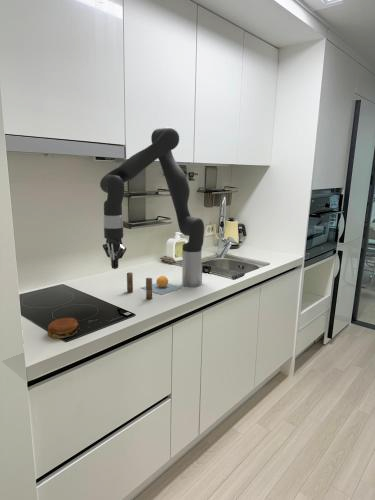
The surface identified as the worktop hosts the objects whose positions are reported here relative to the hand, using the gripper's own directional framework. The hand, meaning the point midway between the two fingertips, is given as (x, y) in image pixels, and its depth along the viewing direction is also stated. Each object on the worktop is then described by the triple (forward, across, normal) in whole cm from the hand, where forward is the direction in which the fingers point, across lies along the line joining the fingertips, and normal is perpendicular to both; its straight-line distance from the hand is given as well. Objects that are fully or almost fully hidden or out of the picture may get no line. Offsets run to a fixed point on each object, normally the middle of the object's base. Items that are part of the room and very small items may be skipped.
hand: (114, 268), depth 140 cm
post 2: (+15, -6, -13) cm, 21 cm away
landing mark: (+15, 0, -27) cm, 31 cm away
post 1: (+15, +6, -13) cm, 21 cm away
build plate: (+16, +1, -64) cm, 66 cm away
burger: (+15, -10, +29) cm, 35 cm away
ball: (+12, 0, -28) cm, 31 cm away
